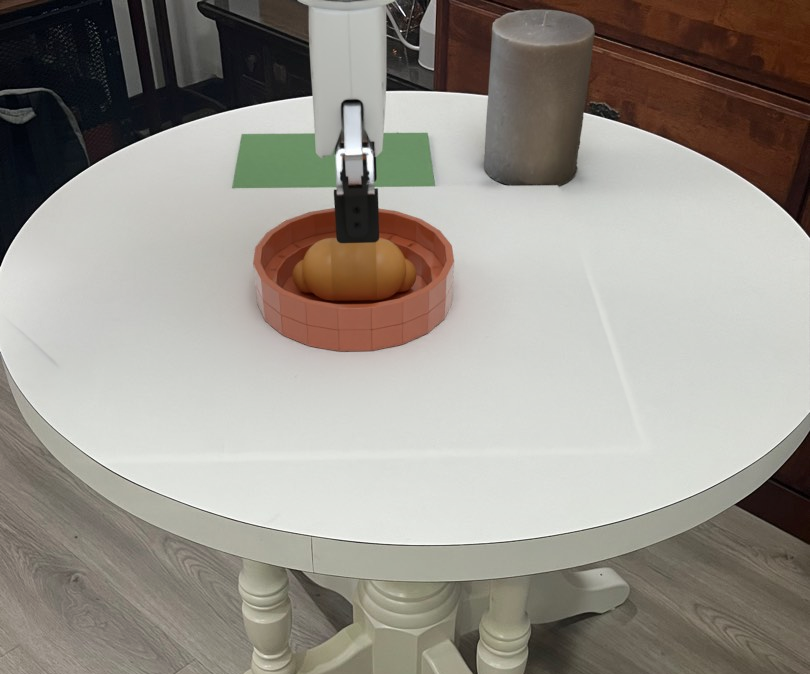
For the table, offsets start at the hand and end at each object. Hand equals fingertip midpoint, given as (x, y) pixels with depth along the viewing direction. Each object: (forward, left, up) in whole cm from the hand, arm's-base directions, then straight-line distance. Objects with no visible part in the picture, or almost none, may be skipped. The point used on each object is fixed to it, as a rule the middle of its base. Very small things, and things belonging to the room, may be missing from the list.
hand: (357, 209), depth 78 cm
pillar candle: (+18, +25, -9) cm, 32 cm away
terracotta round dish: (0, 0, -8) cm, 8 cm away
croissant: (0, 0, -8) cm, 8 cm away
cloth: (-2, +26, -8) cm, 28 cm away
